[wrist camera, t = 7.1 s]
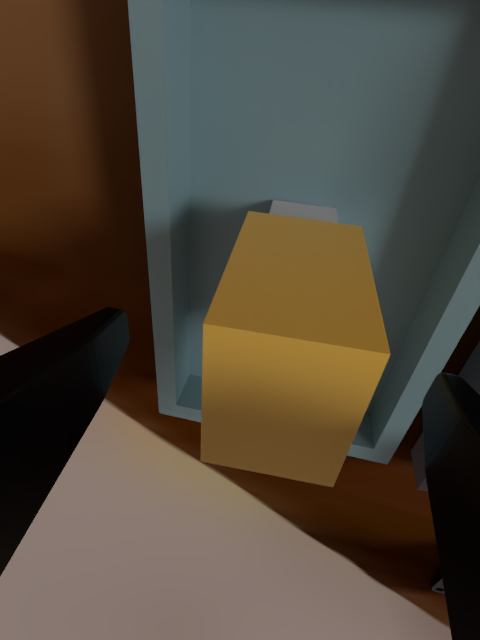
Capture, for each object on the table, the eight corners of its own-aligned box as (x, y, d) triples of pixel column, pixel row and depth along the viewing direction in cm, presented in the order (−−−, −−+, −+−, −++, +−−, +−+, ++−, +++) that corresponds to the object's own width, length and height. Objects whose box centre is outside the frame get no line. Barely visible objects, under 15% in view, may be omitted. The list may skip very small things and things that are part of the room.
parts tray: (382, 417, 18) (387, 464, 16) (177, 373, 19) (159, 412, 17) (619, -63, 8) (710, -95, 6) (164, -94, 9) (117, -131, 7)
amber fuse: (327, 304, 14) (332, 487, 8) (247, 291, 14) (200, 461, 9) (355, 197, 12) (390, 354, 6) (258, 185, 12) (203, 323, 6)
